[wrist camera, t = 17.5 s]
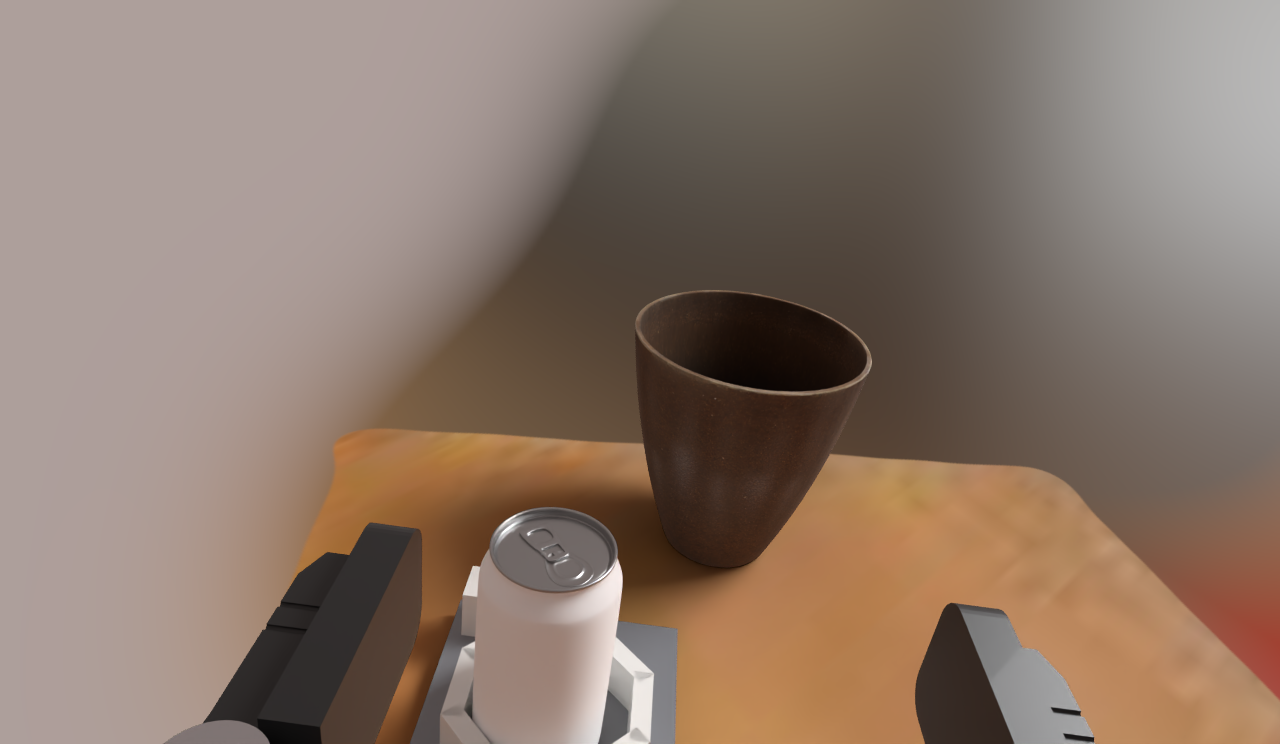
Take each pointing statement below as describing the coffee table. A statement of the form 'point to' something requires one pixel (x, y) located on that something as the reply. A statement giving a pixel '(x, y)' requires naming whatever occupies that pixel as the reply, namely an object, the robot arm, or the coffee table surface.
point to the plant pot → (739, 414)
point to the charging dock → (635, 695)
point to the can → (545, 628)
